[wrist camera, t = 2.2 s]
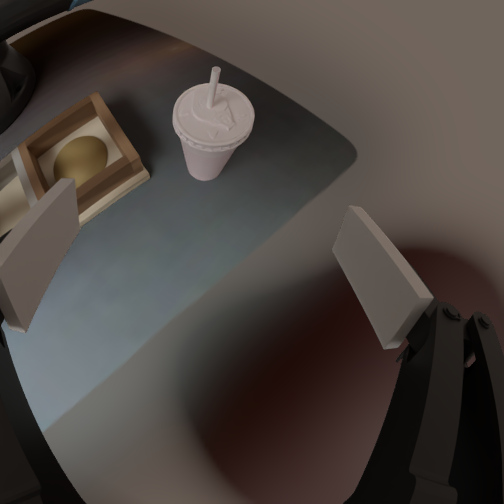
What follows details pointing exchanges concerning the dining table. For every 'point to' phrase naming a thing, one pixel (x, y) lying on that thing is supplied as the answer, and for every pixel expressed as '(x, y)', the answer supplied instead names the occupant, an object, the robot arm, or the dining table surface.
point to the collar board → (71, 163)
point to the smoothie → (211, 125)
